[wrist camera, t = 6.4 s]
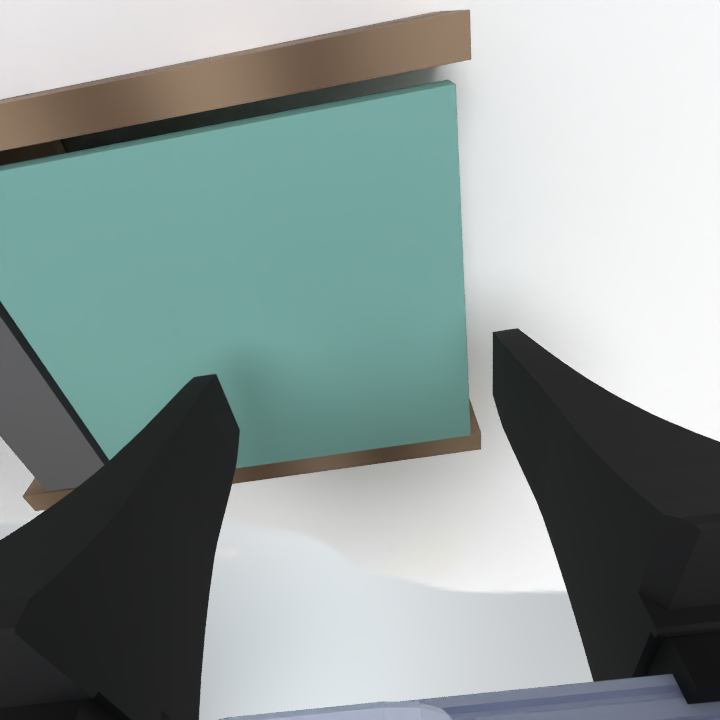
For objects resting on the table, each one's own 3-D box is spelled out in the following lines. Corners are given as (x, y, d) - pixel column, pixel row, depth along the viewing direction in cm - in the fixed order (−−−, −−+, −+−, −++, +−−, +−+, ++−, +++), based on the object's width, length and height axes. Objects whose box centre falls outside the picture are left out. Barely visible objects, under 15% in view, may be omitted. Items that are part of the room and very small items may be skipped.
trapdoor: (73, 449, 22) (44, 495, 20) (-123, 182, 15) (-200, 209, 13) (457, 392, 21) (470, 435, 19) (437, 74, 14) (455, 84, 12)
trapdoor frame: (84, 431, 25) (35, 511, 21) (-127, 125, 17) (-279, 160, 13) (456, 375, 24) (481, 449, 20) (435, 11, 15) (469, 9, 11)
